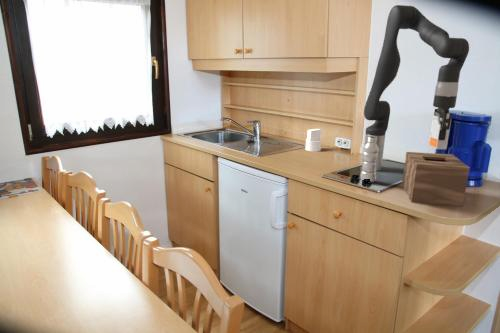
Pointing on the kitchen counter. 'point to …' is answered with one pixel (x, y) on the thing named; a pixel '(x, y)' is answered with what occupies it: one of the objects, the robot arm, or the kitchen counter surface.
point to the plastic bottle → (370, 159)
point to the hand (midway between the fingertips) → (438, 137)
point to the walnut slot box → (435, 178)
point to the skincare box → (437, 135)
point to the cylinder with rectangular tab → (313, 140)
